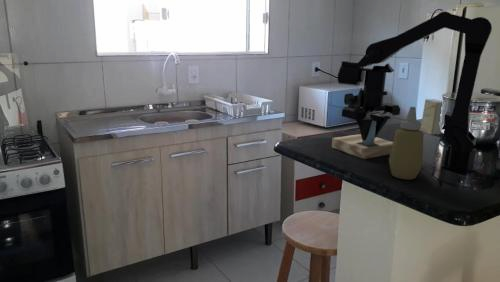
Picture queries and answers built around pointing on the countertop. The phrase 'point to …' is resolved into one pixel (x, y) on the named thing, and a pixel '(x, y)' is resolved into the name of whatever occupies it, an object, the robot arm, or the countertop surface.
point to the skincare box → (431, 117)
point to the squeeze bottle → (407, 148)
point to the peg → (370, 136)
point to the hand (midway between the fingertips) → (368, 139)
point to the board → (357, 149)
